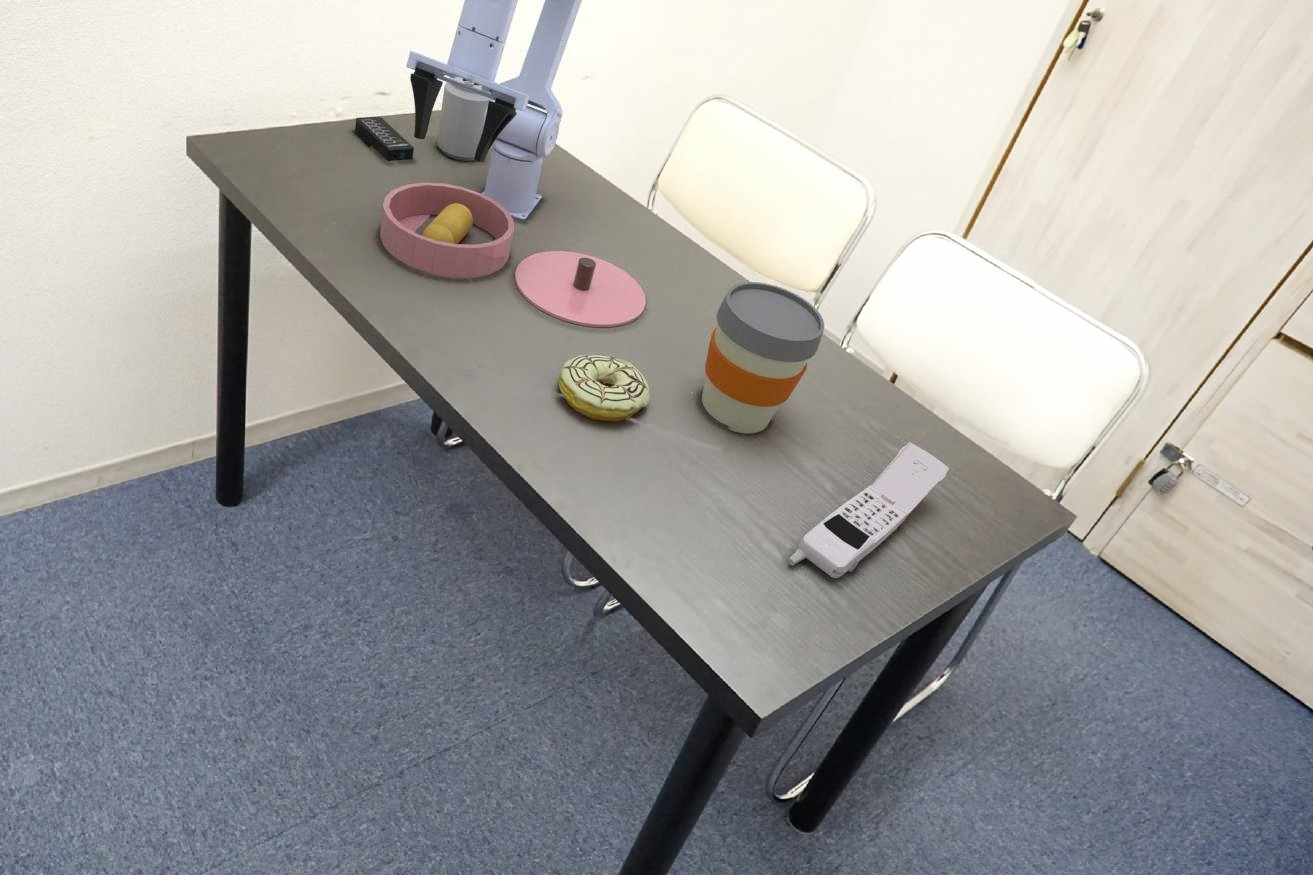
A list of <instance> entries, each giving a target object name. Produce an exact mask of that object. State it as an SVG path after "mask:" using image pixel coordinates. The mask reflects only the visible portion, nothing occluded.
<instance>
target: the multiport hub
mask: <svg viewBox="0 0 1313 875" xmlns="http://www.w3.org/2000/svg"><path fill="white" fill-rule="evenodd" d="M354 133H355V134H356V135H357V136H358V137H359V138H360V139H361V140H362V141H363V142H364V143H365V144H366V145H367V146H368V147H369V148H373V149H374V150H375V151H376V152H377V153H378V154H380V155H381V156H382V158H384V160H385V161H388V162H397V161H410V160H413V159H414V149H415V147H414V146H413V145H412V144H411V143H410V142H409V141H408V140H407V139H406V138H404V137H403V136H402V135H401V134H400V133H399V132H398V131H397V130H396V129H395V128H394V127H393V126H392V125H390V124H389V122H387V121H386V119H384V118H383V117H381V116H366V117H364V116H363V117H355V127H354Z"/></svg>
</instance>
